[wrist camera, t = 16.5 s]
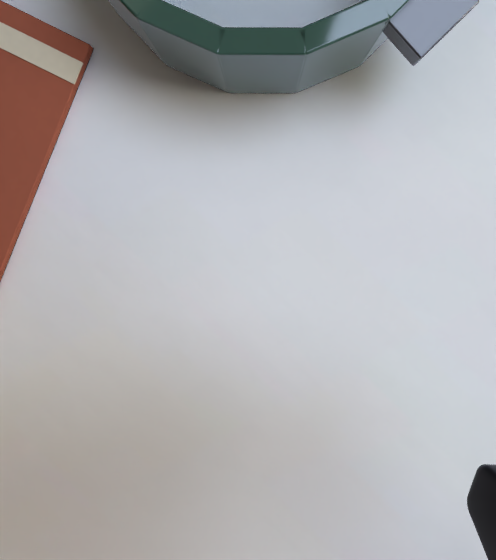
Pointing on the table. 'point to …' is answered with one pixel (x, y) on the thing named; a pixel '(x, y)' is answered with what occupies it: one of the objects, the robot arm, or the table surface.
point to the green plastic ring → (289, 41)
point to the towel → (31, 109)
